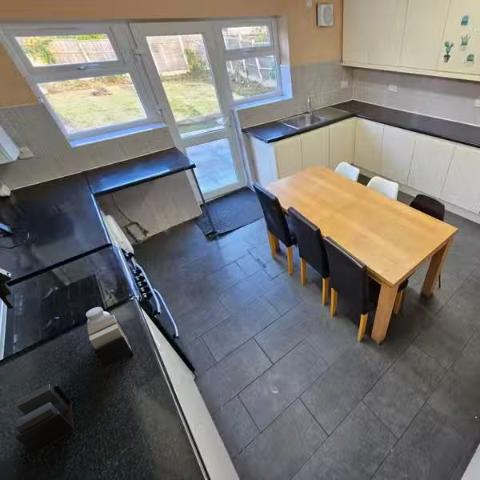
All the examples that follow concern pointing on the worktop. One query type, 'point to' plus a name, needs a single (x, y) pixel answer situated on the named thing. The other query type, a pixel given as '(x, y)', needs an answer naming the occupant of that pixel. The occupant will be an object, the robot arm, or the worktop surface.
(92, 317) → the supplement bottle
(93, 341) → the cream book
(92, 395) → the worktop surface
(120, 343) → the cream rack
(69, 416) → the grey rack
